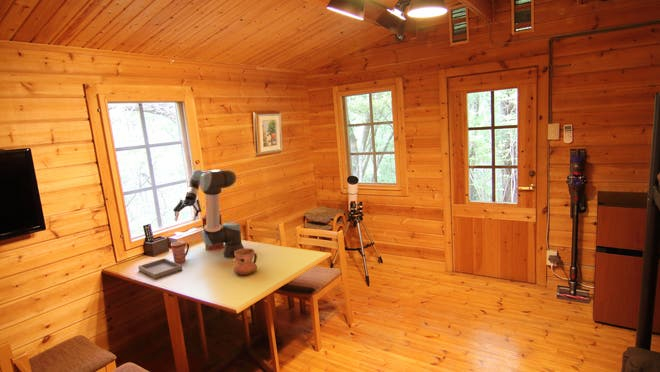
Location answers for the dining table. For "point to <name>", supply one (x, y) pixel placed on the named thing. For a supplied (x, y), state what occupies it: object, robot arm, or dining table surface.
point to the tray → (160, 268)
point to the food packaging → (217, 244)
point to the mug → (179, 251)
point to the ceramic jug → (245, 261)
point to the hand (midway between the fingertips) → (184, 220)
